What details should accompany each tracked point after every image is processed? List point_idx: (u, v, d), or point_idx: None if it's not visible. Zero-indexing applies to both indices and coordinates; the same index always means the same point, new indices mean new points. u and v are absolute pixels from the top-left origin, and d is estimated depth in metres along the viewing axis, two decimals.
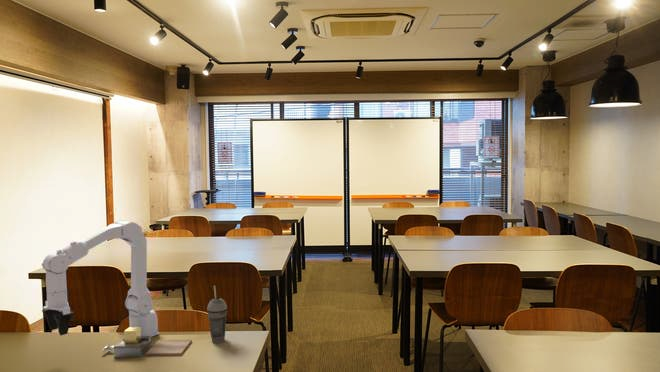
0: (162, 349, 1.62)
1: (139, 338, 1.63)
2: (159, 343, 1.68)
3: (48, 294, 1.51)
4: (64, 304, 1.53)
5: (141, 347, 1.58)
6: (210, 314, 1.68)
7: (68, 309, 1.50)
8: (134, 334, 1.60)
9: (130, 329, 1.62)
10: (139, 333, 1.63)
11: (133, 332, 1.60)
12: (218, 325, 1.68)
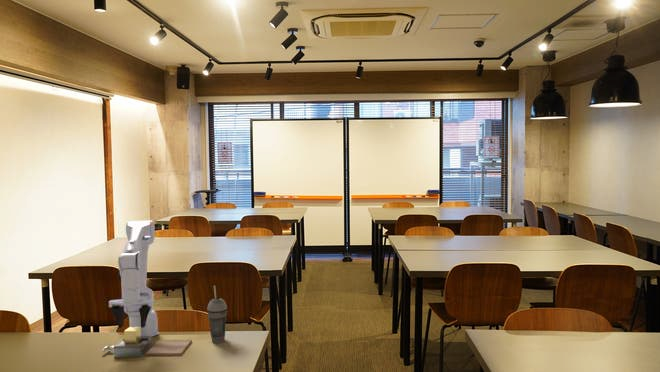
0: (162, 349, 1.62)
1: (139, 338, 1.63)
2: (159, 343, 1.68)
3: (129, 291, 1.59)
4: (140, 299, 1.63)
5: (141, 347, 1.58)
6: (210, 314, 1.68)
7: (152, 301, 1.62)
8: (134, 334, 1.60)
9: (130, 329, 1.62)
10: (139, 333, 1.63)
11: (133, 332, 1.60)
12: (218, 325, 1.68)
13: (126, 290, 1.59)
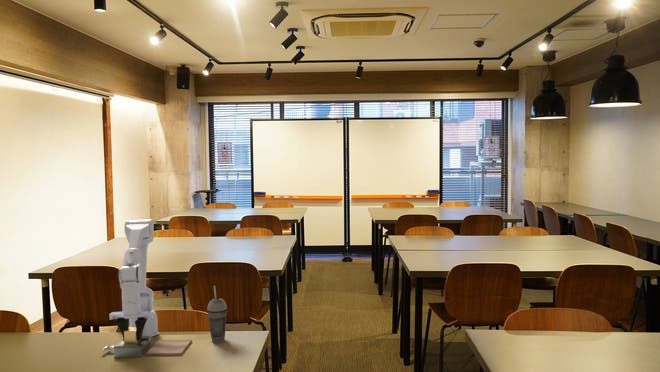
0: (162, 349, 1.62)
1: None
2: (159, 343, 1.68)
3: (129, 303, 1.59)
4: (140, 311, 1.63)
5: (141, 347, 1.58)
6: (210, 314, 1.68)
7: (153, 313, 1.62)
8: (134, 334, 1.60)
9: (130, 329, 1.62)
10: None
11: (133, 332, 1.60)
12: (218, 325, 1.68)
13: (127, 303, 1.59)
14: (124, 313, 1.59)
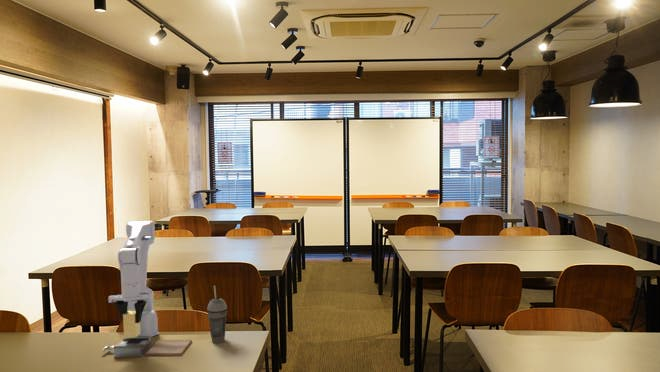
0: (162, 349, 1.62)
1: None
2: (159, 343, 1.68)
3: (128, 286, 1.58)
4: (140, 294, 1.62)
5: (141, 347, 1.58)
6: (210, 314, 1.68)
7: (152, 296, 1.62)
8: (133, 317, 1.59)
9: (129, 312, 1.61)
10: None
11: (132, 316, 1.59)
12: (218, 325, 1.68)
13: (126, 285, 1.58)
14: (123, 296, 1.59)
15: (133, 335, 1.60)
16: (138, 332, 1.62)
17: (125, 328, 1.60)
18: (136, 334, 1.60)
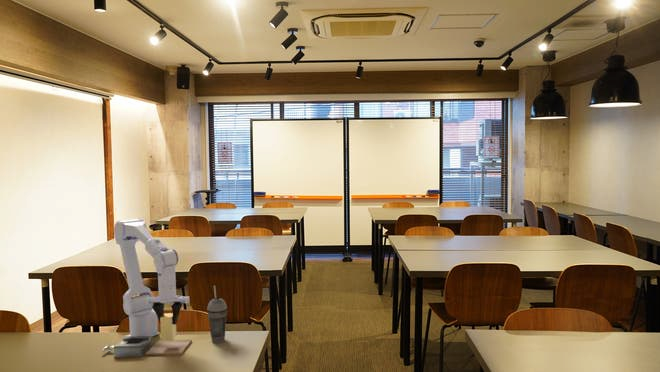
0: (162, 349, 1.62)
1: (175, 324, 1.65)
2: (159, 343, 1.68)
3: (166, 288, 1.61)
4: (176, 296, 1.65)
5: (141, 347, 1.58)
6: (210, 314, 1.68)
7: (188, 298, 1.64)
8: (170, 320, 1.62)
9: (166, 315, 1.63)
10: None
11: (169, 318, 1.62)
12: (218, 325, 1.68)
13: (163, 287, 1.61)
14: (161, 297, 1.61)
15: (170, 337, 1.62)
16: (174, 334, 1.65)
17: (162, 331, 1.62)
18: (173, 336, 1.63)
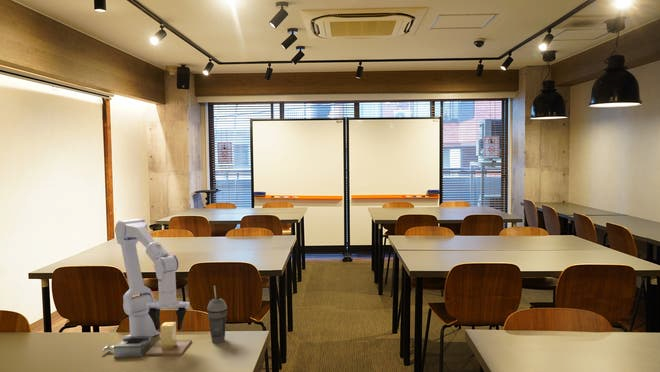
0: (162, 349, 1.62)
1: (175, 333, 1.65)
2: (159, 343, 1.68)
3: (166, 294, 1.61)
4: (176, 301, 1.65)
5: (141, 347, 1.58)
6: (210, 314, 1.68)
7: None
8: (170, 329, 1.62)
9: (166, 324, 1.64)
10: (175, 328, 1.65)
11: (169, 327, 1.62)
12: (218, 325, 1.68)
13: (163, 293, 1.61)
14: (161, 303, 1.61)
15: (170, 346, 1.62)
16: (175, 343, 1.65)
17: (162, 339, 1.62)
18: (173, 345, 1.63)
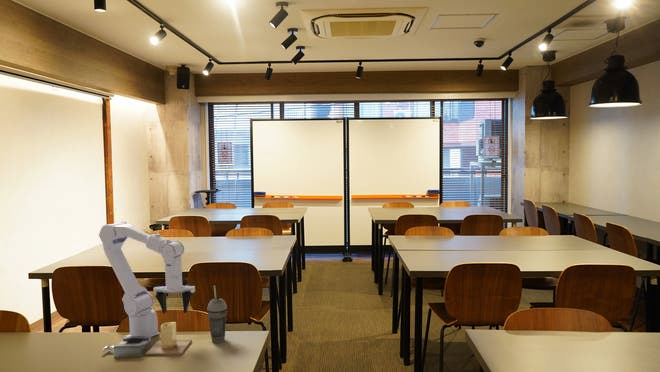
0: (162, 349, 1.62)
1: (175, 333, 1.65)
2: (159, 343, 1.68)
3: (173, 278, 1.69)
4: (182, 286, 1.73)
5: (141, 347, 1.58)
6: (210, 314, 1.68)
7: (194, 287, 1.72)
8: (170, 329, 1.62)
9: (166, 324, 1.64)
10: (175, 328, 1.65)
11: (169, 327, 1.62)
12: (218, 325, 1.68)
13: (170, 277, 1.68)
14: (168, 287, 1.69)
15: (170, 346, 1.62)
16: (175, 343, 1.65)
17: (162, 339, 1.62)
18: (173, 345, 1.63)
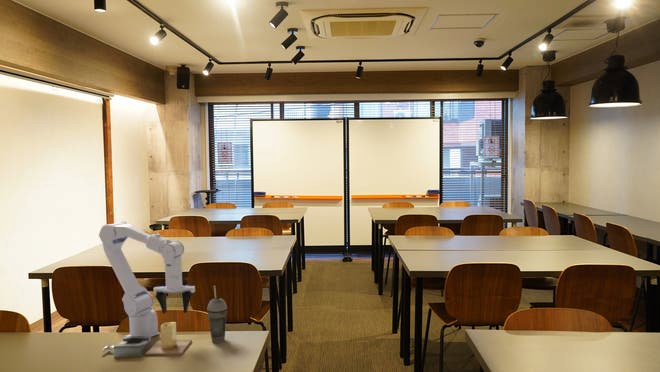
0: (162, 349, 1.62)
1: (175, 333, 1.65)
2: (159, 343, 1.68)
3: (173, 278, 1.69)
4: (182, 286, 1.73)
5: (141, 347, 1.58)
6: (210, 314, 1.68)
7: (194, 287, 1.72)
8: (170, 329, 1.62)
9: (166, 324, 1.64)
10: (175, 328, 1.65)
11: (169, 327, 1.62)
12: (218, 325, 1.68)
13: (170, 277, 1.68)
14: (168, 287, 1.69)
15: (170, 346, 1.62)
16: (175, 343, 1.65)
17: (162, 339, 1.62)
18: (173, 345, 1.63)
